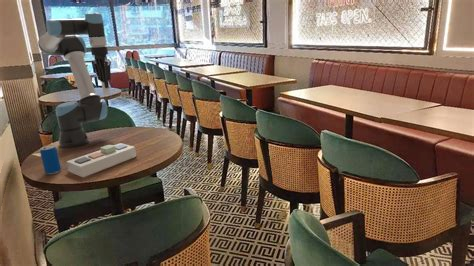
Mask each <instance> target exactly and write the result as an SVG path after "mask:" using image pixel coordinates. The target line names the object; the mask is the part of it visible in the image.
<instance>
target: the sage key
mask: <svg viewBox="0 0 474 266" xmlns="http://www.w3.org/2000/svg"><path fill="white" fill-rule="evenodd" d="M99 148H100V149H99V150H101V153H103V154H106V155H107V154H110V153H113V152H115V151H116V149H115V146H113V144H107V145H104V146H100V147H99Z"/></svg>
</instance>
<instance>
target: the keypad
mask: <svg viewBox="0 0 474 266" xmlns="http://www.w3.org/2000/svg"><path fill="white" fill-rule="evenodd" d="M121 144H122V145H126V146H127V148H124V149H121V150H116V151H115V152H113V153H110V154H107V155H106V154H103V153H101V149H99V150H96V151H93V152H90V153H87V154H85V155H82V156H78V157H76V158H72V159H69V160H67V161H66V164H67V169H68V172H69V173H71V174H73V175H76V176H79V177H81V178H85V177H88V176H90V175H93V174H96V173H98V172H100V171H103V170H106V169H108V168H111V167H113V166H116V165H118V164H121V163H123V162H126V161H129V160H131V159H134V158H135V157H137V152H136V151H137V150H136V147H135V146H133V145H129V144H125V143H121V142H120V143H119V142H118V143H117V144H114V145H113V144H112V145H113V146H118V145H121ZM97 152H98V153H101V154H103V155H104V156H102V157H99V158H96V159H92V158H89V157H88V156H89V155H92V154H95V153H97ZM83 157H86V158H89V159H91V160H90V161H88V162H85V163H82V164H78V163H76V162H75V160H77V159H80V158H83Z"/></svg>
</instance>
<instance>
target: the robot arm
mask: <svg viewBox="0 0 474 266" xmlns="http://www.w3.org/2000/svg"><path fill="white" fill-rule="evenodd" d="M45 28H46V32H45V33H44V34H42V35H41V36H40V37H39V39H38V41H37V42H38V44H37V45H38V48H39V49H40V50H41V51H42V52H43V53H45V54H46V55H48V56H53V57H59V56H60V57H61V56H63V59H64V60H65V61H67V62H68V64H69V67H70V69H71V73H72V77H73V78H74V82H75V84H76V87H77V91H78V93H79V95H80V99H79V101H76V100H72V101H66V102H63V103H60V104H58V105H57V106H56V107H55V116H56V118H57V124H58V127H59V139H58V145H59V147H60V148H74V147H75V148H76V147H78V146H79V147H81V146H83V145H85V144H87V143H88V142H89V141H90V140H89V137H88V135H87V134H86V133H87V132H86V131H85V129H84V128H83V124H86V123H90V122H91V123H92V122H96V121H100V120H104V119H105V118H107V116H108V106H107V101H106V99H104V98H101V96H100V95H99V94H97V93H96V90H95V87H94V84H93V80H92V77H91V75H90V73H89V70H88V67H87V63H86V61H85V56H86V53H87V51H88V49H87V44H86V41H85V40H84V38H83V37H82V36H81V35H84V36H85V35H88V41H89V45H90V47H91V48H90V53H91V55H92V56H94V60H92V61H91V64H93V68H94V70H95V74H96V77H97V80H98V81H100V83H101V87H102V92H103V93H102V94H103V95H105V96H106V95H107V96H108V95H111V91H110V85H109V81H111V80H112V79H111V78H112V77H111V72H112V71H111V65H112V64H111V63H112V61H111V60H108V57H107V55H108V54H109V50H108V47H107V45H108V44H107V37H106V33H105V26H104V19H103V16H102V14H101V12H87V13H85V14H84V18H53V19H46V21H45Z"/></svg>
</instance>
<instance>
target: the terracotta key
mask: <svg viewBox="0 0 474 266" xmlns="http://www.w3.org/2000/svg"><path fill="white" fill-rule="evenodd" d="M102 156H104V155H103V154H101V153H98V152H97V153H95V154H92V155H89V156H88V157H89V158H92V159H96V158H99V157H102Z"/></svg>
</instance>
